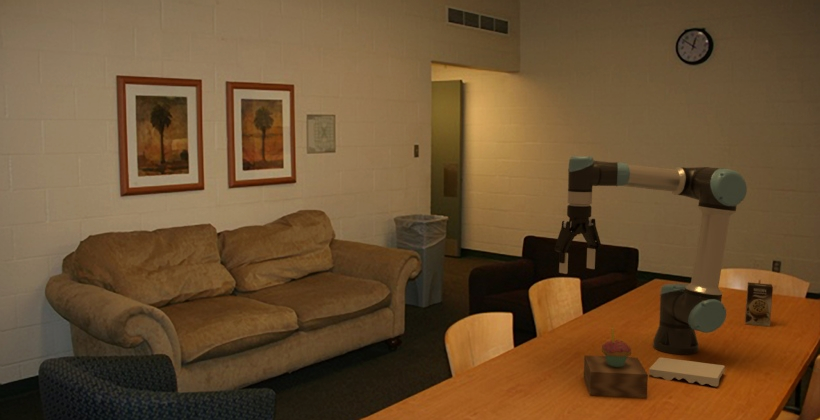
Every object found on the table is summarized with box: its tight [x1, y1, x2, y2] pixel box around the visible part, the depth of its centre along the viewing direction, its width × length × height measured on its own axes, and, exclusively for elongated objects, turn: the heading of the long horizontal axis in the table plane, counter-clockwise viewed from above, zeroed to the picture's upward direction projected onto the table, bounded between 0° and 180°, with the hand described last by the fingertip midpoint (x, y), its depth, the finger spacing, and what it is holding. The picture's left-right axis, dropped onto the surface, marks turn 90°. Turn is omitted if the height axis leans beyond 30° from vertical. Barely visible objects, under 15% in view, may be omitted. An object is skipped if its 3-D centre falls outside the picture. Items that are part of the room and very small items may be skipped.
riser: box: [583, 355, 649, 399], centre depth 225 cm, size 16×16×7 cm
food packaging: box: [648, 356, 726, 388], centre depth 237 cm, size 15×3×20 cm
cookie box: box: [744, 282, 774, 327], centre depth 300 cm, size 9×6×16 cm
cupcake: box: [601, 327, 632, 367], centre depth 224 cm, size 9×8×12 cm
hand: (577, 270), depth 241 cm, fingers open, 13 cm apart
